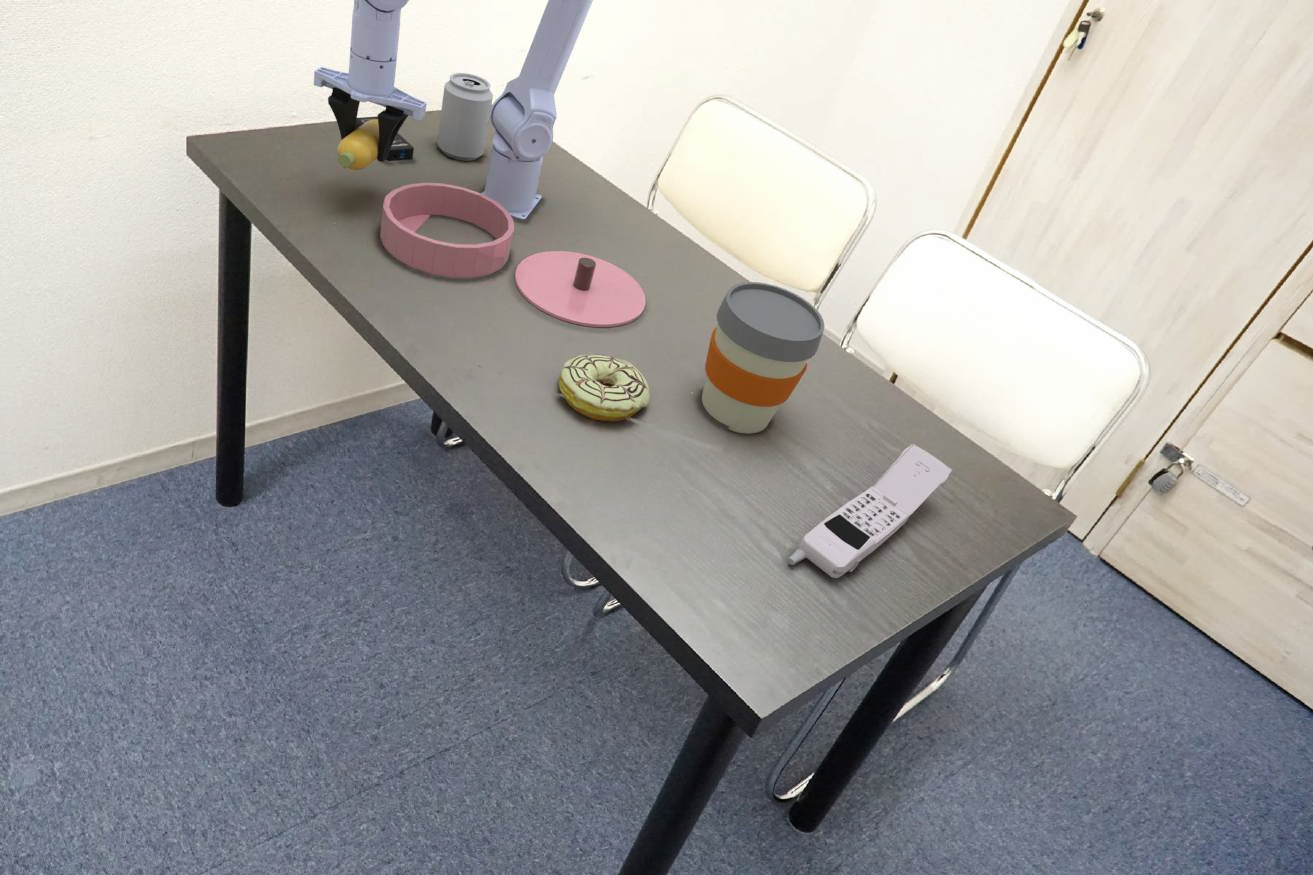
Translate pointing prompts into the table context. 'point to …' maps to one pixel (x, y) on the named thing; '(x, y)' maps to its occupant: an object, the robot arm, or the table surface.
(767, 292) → the reusable coffee cup
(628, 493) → the table surface
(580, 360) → the decorated donut
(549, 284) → the lid
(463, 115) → the can
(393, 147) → the multiport hub
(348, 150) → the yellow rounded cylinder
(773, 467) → the table surface
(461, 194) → the pot
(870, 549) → the mobile phone
